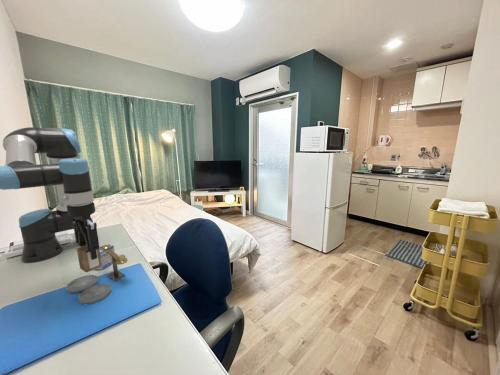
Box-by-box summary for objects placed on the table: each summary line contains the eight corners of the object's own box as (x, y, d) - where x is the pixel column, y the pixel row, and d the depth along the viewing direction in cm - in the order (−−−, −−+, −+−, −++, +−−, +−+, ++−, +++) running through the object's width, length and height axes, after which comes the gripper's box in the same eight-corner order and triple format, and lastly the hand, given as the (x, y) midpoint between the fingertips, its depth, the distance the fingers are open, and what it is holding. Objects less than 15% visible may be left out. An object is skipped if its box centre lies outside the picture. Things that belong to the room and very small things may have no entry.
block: (80, 268, 76) (76, 248, 74) (95, 262, 80) (92, 242, 79) (86, 272, 73) (82, 251, 72) (102, 265, 78) (99, 246, 76)
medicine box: (102, 270, 95) (99, 253, 93) (93, 269, 96) (91, 252, 94) (116, 261, 102) (113, 244, 101) (108, 260, 103) (106, 244, 101)
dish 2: (74, 297, 78) (73, 294, 77) (103, 283, 86) (103, 280, 86) (86, 308, 73) (85, 305, 72) (116, 291, 81) (116, 288, 81)
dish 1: (62, 287, 83) (61, 284, 83) (91, 274, 92) (90, 271, 91) (73, 296, 78) (72, 293, 78) (102, 282, 86) (102, 279, 86)
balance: (102, 273, 93) (98, 247, 90) (111, 268, 96) (108, 243, 94) (122, 285, 84) (118, 258, 82) (131, 280, 88) (128, 253, 85)
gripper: (56, 202, 73) (68, 262, 78) (78, 210, 64) (90, 277, 69) (82, 197, 80) (91, 253, 84) (105, 204, 71) (114, 266, 75)
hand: (90, 264), depth 77 cm, fingers closed on block, 5 cm apart
